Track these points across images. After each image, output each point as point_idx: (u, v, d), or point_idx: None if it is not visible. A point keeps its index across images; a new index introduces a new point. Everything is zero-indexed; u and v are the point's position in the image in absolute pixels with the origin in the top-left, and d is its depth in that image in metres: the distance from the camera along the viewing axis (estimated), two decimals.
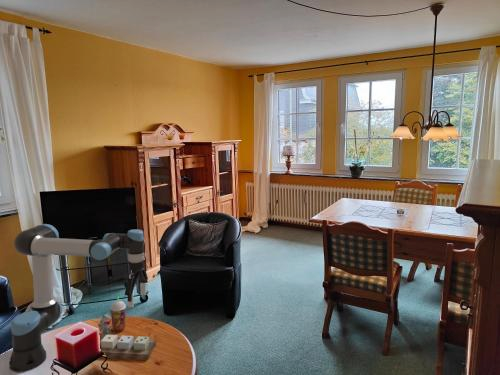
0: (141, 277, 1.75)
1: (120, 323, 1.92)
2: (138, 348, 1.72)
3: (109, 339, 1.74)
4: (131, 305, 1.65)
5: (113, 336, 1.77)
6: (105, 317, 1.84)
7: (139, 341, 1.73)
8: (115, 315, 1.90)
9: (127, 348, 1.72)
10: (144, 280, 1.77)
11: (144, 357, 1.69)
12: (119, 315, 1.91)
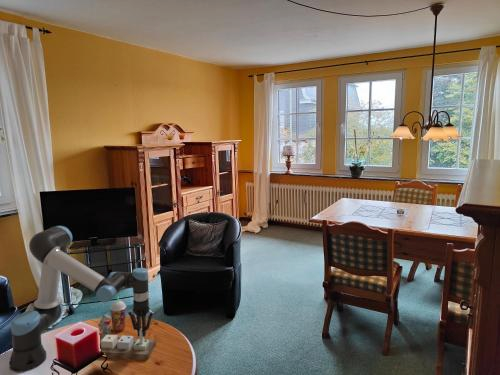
0: None
1: (120, 323, 1.92)
2: None
3: (109, 339, 1.74)
4: None
5: (113, 336, 1.77)
6: (105, 317, 1.84)
7: (139, 344, 1.73)
8: (115, 315, 1.90)
9: (127, 348, 1.72)
10: (142, 326, 1.72)
11: (144, 357, 1.69)
12: (119, 315, 1.91)
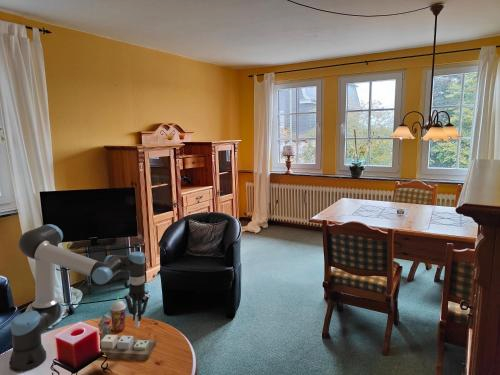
0: None
1: (120, 323, 1.92)
2: None
3: (109, 339, 1.74)
4: None
5: (113, 336, 1.77)
6: (105, 317, 1.84)
7: (139, 345, 1.73)
8: (115, 315, 1.90)
9: (127, 348, 1.72)
10: None
11: (144, 357, 1.69)
12: (119, 315, 1.91)
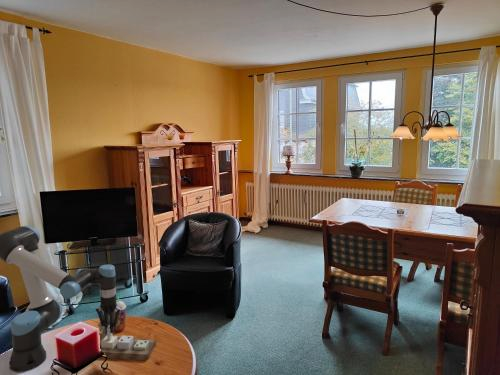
0: None
1: (120, 323, 1.92)
2: None
3: (109, 340, 1.74)
4: None
5: (113, 337, 1.77)
6: None
7: (139, 345, 1.73)
8: None
9: (127, 348, 1.72)
10: None
11: (144, 357, 1.69)
12: (119, 315, 1.91)
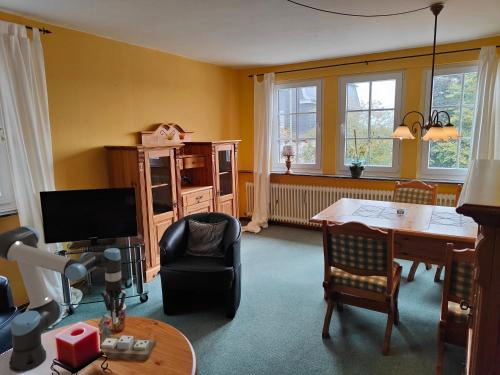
0: None
1: (120, 323, 1.92)
2: None
3: (109, 343, 1.75)
4: None
5: (113, 340, 1.77)
6: (105, 317, 1.84)
7: (139, 345, 1.73)
8: None
9: (127, 348, 1.72)
10: (115, 307, 1.72)
11: (144, 357, 1.69)
12: (119, 315, 1.91)
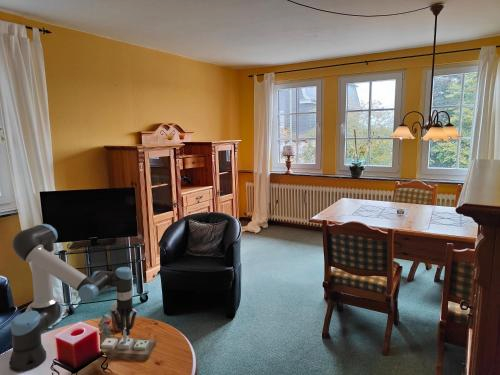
0: None
1: None
2: None
3: (109, 343, 1.75)
4: None
5: (113, 340, 1.77)
6: (105, 317, 1.84)
7: (139, 345, 1.73)
8: None
9: None
10: None
11: (144, 357, 1.69)
12: (119, 315, 1.91)
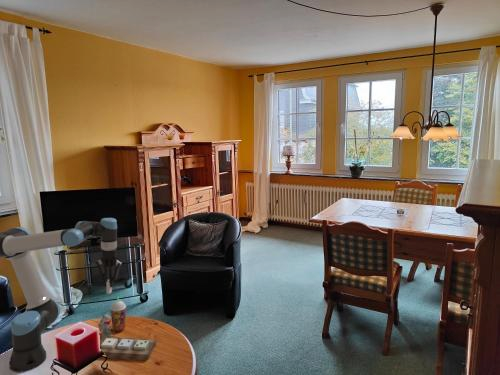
0: None
1: (120, 323, 1.92)
2: None
3: (109, 343, 1.75)
4: None
5: (113, 340, 1.77)
6: (105, 317, 1.84)
7: (139, 345, 1.73)
8: (115, 315, 1.90)
9: None
10: (109, 276, 1.72)
11: (144, 357, 1.69)
12: (119, 315, 1.91)
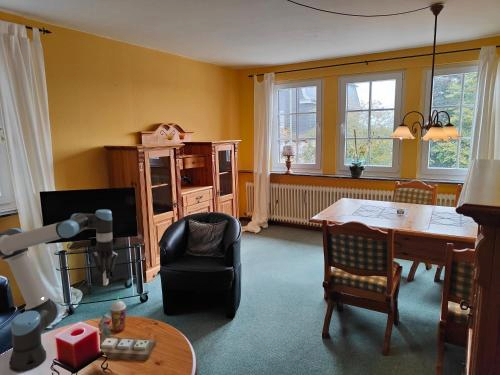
0: None
1: (120, 323, 1.92)
2: None
3: (109, 343, 1.75)
4: None
5: (113, 340, 1.77)
6: (105, 317, 1.84)
7: (139, 345, 1.73)
8: (115, 315, 1.90)
9: None
10: None
11: (144, 357, 1.69)
12: (119, 315, 1.91)
